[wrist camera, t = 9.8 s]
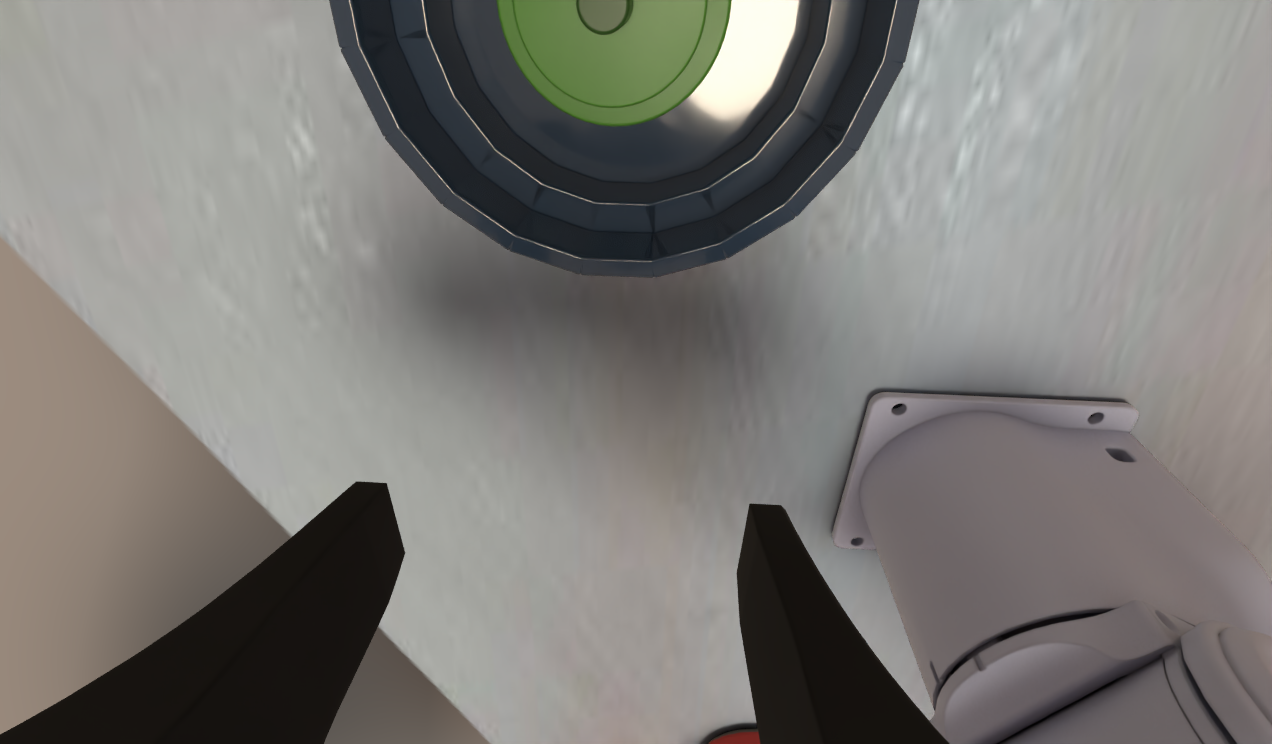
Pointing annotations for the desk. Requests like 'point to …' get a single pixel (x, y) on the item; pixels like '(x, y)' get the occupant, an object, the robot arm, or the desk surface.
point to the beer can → (738, 737)
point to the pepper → (614, 53)
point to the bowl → (627, 129)
